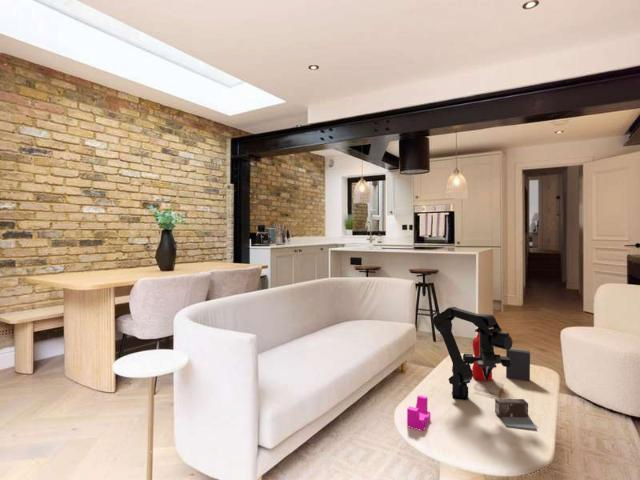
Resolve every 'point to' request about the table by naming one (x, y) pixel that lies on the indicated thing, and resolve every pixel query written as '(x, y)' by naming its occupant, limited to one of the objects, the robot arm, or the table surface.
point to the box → (511, 407)
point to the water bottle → (476, 369)
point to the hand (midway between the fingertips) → (486, 379)
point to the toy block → (418, 414)
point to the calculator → (518, 365)
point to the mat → (519, 422)
